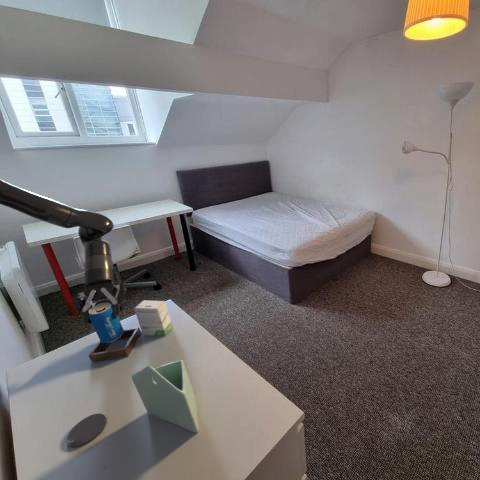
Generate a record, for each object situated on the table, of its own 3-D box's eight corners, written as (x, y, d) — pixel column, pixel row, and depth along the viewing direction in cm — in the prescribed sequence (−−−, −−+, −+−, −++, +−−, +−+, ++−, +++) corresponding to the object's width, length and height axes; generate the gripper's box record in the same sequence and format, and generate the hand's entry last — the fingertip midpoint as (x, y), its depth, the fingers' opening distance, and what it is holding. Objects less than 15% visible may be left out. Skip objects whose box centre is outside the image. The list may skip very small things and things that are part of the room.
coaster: (60, 450, 62) (59, 449, 62) (80, 418, 69) (79, 416, 69) (96, 443, 63) (95, 441, 63) (112, 412, 70) (111, 410, 70)
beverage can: (105, 347, 85) (90, 317, 80) (98, 338, 89) (84, 309, 84) (127, 335, 90) (115, 306, 85) (120, 327, 93) (108, 299, 88)
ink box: (142, 335, 96) (132, 309, 91) (152, 325, 100) (142, 299, 95) (165, 336, 95) (156, 309, 90) (174, 326, 100) (165, 300, 95)
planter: (218, 403, 71) (202, 348, 63) (197, 433, 65) (176, 376, 56) (171, 386, 77) (151, 333, 68) (147, 413, 70) (121, 358, 62)
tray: (91, 362, 85) (88, 355, 84) (109, 338, 95) (106, 331, 94) (128, 356, 87) (125, 349, 86) (141, 333, 97) (139, 327, 95)
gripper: (65, 273, 83) (67, 326, 78) (120, 262, 89) (125, 312, 84) (78, 279, 90) (80, 328, 85) (128, 269, 95) (133, 315, 90)
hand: (102, 320), depth 84 cm, fingers closed on beverage can, 6 cm apart
